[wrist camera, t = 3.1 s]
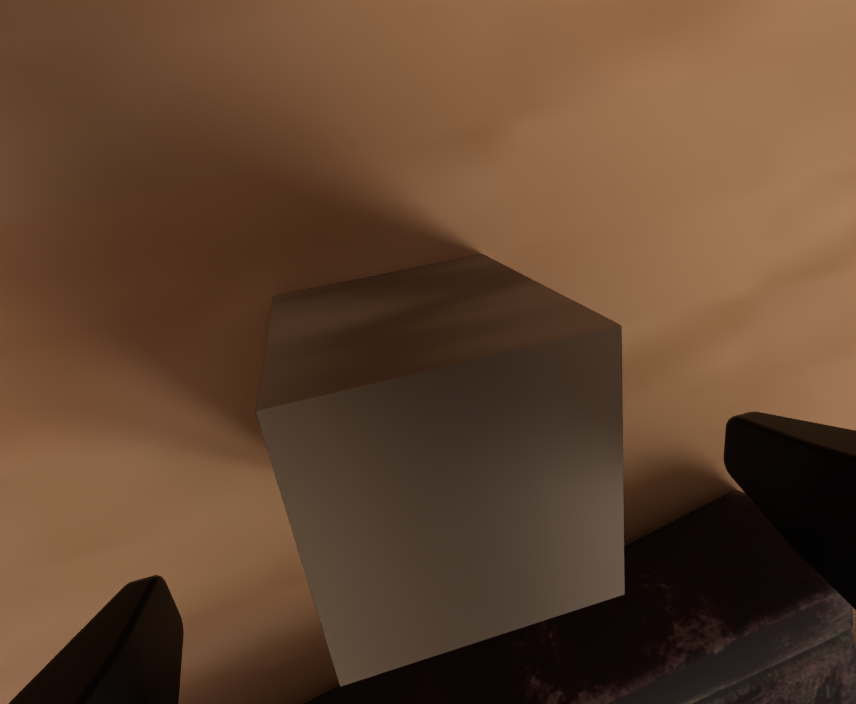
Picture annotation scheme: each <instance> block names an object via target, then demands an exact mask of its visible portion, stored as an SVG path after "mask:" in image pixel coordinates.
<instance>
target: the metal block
mask: <svg viewBox="0 0 856 704" xmlns="http://www.w3.org/2000/svg"><path fill="white" fill-rule="evenodd" d="M256 414H257V418H258V421H259V424H260V427H261V431H262V434H263V437H264V440H265V444H266V447H267V450H268V453H269V457H270V460H271V463H272V466H273V470H274V473H275V476H276V479H277V483H278V486H279V489H280V492H281V496H282V499H283V502H284V505H285V509H286V512H287V515H288V518H289V522H290V525H291V528H292V531H293V535H294V538H295V541H296V544H297V548H298V551H299V554H300V557H301V561H302V564H303V567H304V570H305V574H306V577H307V580H308V583H309V587H310V590H311V593H312V597H313V600H314V603H315V606H316V610H317V613H318V616H319V619H320V623H321V626H322V629H323V632H324V636H325V639H326V642H327V645H328V649H329V652H330V655H331V658H332V662H333V665H334V668H335V671H336V675H337V678H338V681H339V684H340V687H341V686H344V685H347V684H350V683H353V682H356V681H359V680H362V679H366V678H369V677H372V676H375V675H378V674H381V673H384V672H387V671H390V670H393V669H396V668H399V667H402V666H406V665H409V664H412V663H415V662H418V661H421V660H424V659H427V658H430V657H433V656H436V655H439V654H443V653H446V652H449V651H452V650H455V649H458V648H461V647H464V646H467V645H470V644H473V643H476V642H479V641H483V640H486V639H489V638H492V637H495V636H498V635H501V634H504V633H507V632H510V631H513V630H516V629H520V628H523V627H526V626H529V625H532V624H535V623H538V622H541V621H544V620H547V619H550V618H553V617H556V616H560V615H563V614H566V613H569V612H572V611H575V610H578V609H581V608H584V607H587V606H590V605H593V604H596V603H600V602H603V601H606V600H609V599H612V598H615V597H618V596H621V595H624V594H625V581H624V499H623V417H622V334H621V325H620V324H618V323H616V322H614V321H612V320H610V319H608V318H606V317H604V316H602V315H600V314H598V313H596V312H594V311H592V310H590V309H588V308H586V307H585V306H583V305H581V304H579V303H577V302H575V301H573V300H571V299H569V298H567V297H565V296H563V295H561V294H559V293H557V292H555V291H553V290H551V289H550V288H548V287H546V286H544V285H542V284H540V283H538V282H536V281H534V280H532V279H530V278H528V277H526V276H524V275H522V274H520V273H518V272H516V271H515V270H513V269H511V268H509V267H507V266H505V265H503V264H501V263H499V262H497V261H495V260H493V259H491V258H489V257H487V256H485V255H483V254H480V255H476V256H471V257H466V258H461V259H456V260H451V261H446V262H441V263H436V264H431V265H426V266H421V267H416V268H411V269H406V270H401V271H396V272H391V273H386V274H381V275H376V276H371V277H366V278H361V279H357V280H352V281H347V282H342V283H337V284H332V285H327V286H322V287H317V288H312V289H307V290H302V291H297V292H292V293H287V294H282V295H277V296H274V298H273V304H272V310H271V317H270V323H269V329H268V336H267V342H266V348H265V355H264V361H263V367H262V374H261V380H260V386H259V393H258V399H257V405H256Z"/></svg>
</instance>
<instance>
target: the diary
mask: <svg viewBox="0 0 856 704" xmlns="http://www.w3.org/2000/svg"><path fill="white" fill-rule="evenodd" d="M624 581H625V594H624V595H621V596H618V597H615V598H612V599H609V600H606V601H603V602H600V603H596V604H593V605H590V606H587V607H584V608H581V609H578V610H575V611H572V612H569V613H566V614H563V615H560V616H556V617H553V618H550V619H547V620H544V621H541V622H538V623H535V624H532V625H529V626H526V627H523V628H520V629H516V630H513V631H510V632H507V633H504V634H501V635H498V636H495V637H492V638H489V639H486V640H483V641H479V642H476V643H473V644H470V645H467V646H464V647H461V648H458V649H455V650H452V651H449V652H446V653H443V654H439V655H436V656H433V657H430V658H427V659H424V660H421V661H418V662H415V663H412V664H409V665H406V666H402V667H399V668H396V669H393V670H390V671H387V672H384V673H381V674H378V675H375V676H372V677H369V678H366V679H362V680H359V681H356V682H353V683H350V684H347V685H344V686H341V687H340V685H339V686H337V687H335V688H333V689H332V690H330V691H328V692H326V693H324V694H322V695H320V696H318V697H316V698H314V699H312V700H310V701H308V702H306V703H304V704H856V650H855V643H854V636H853V633H852V631H851V628H852V627H853V620H852V606H851V605H850V604H849V603H848V602H847V601H846V600H845V599H844V598H843V597H842V596H841V595H840V594H839V593H838V592H837V591H836V590H835V589H834V588H833V587H832V586H831V585H830V584H829V583H828V582H827V581H826V580H825V579H824V578H823V577H822V576H821V575H820V574H818V573H817V572H816V571H815V570H814V569H813V568H812V567H811V566H810V565H809V564H808V563H807V562H806V561H805V560H804V559H803V558H802V557H801V556H800V555H799V554H798V553H797V552H796V551H795V550H794V548H793V547H792V546H791V545H790V544H789V543H788V542H787V541H786V540H785V538H784V537H783V536H782V535H781V534H780V533H779V532H778V530H777V529H776V528H775V527H774V526H773V525H772V523H771V522H770V521H769V520H768V519H767V518H766V516H765V515H764V514H763V513H762V512H761V511H760V509H759V508H758V507H757V506H756V505H755V504H754V502H753V501H752V500H751V499H750V498H749V497H748V495H747V494H746V493H744V492H741V491H738V490H735V491H733V492H731V493H729V494H727V495H725V496H723V497H721V498H719V499H717V500H715V501H713V502H711V503H709V504H707V505H705V506H703V507H701V508H699V509H697V510H695V511H693V512H691V513H689V514H687V515H685V516H683V517H681V518H679V519H677V520H676V521H674V522H672V523H670V524H668V525H666V526H664V527H662V528H660V529H658V530H656V531H654V532H652V533H650V534H648V535H646V536H644V537H642V538H640V539H638V540H636V541H634V542H632V543H630V544H628V545H626V546H624Z"/></svg>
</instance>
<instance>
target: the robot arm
mask: <svg viewBox="0 0 856 704" xmlns="http://www.w3.org/2000/svg"><path fill="white" fill-rule="evenodd" d="M724 464H725V467H726V469H727V471H728V473H729V474H730V476H731V477H732V478H733V479H734V480H735V481H736V483H737V484H738V485H739V486H740V487H741V488H742V490H743V491H744V492H745V493H746V494H747V495H748V497H749V498H750V499H751V500H752V501H753V502H754V504H755V505H756V506H757V507H758V508H759V509H760V511H761V512H762V513H763V514H764V515H765V516H766V518H767V519H768V520H769V521H770V522H771V523H772V525H773V526H774V527H775V528H776V529H777V530H778V532H779V533H780V534H781V535H782V536H783V537H784V538H785V540H786V541H787V542H788V543H789V544H790V545H791V546H792V547H793V548H794V550H795V551H796V552H797V553H798V554H799V555H800V556H801V557H802V558H803V559H804V560H805V561H806V562H807V563H808V564H809V565H810V566H811V567H812V568H813V569H814V570H815V571H816V572H817V573H818V574H820V575H821V576H822V577H823V578H824V579H825V580H826V581H827V582H828V583H829V584H830V585H831V586H832V587H833V588H834V589H835V590H836V591H837V592H838V593H839V594H840V595H841V596H842V597H843V598H844V599H845V600H846V601H847V602H848V603H849V604H850V605H851V606H852V607H853V608H854V609H855V610H856V431H855V430H849V429H844V428H839V427H834V426H828V425H823V424H818V423H813V422H807V421H802V420H797V419H792V418H786V417H781V416H776V415H771V414H766V413H760V412H748V413H744V414H741V415H737V416H733V417H731V418H730V419H729V420H728V422H727V424H726V433H725V447H724ZM182 647H183V623H182V619H181V616H180V613H179V611H178V609H177V607H176V604H175V602H174V600H173V597H172V595H171V593H170V591H169V588H168V586H167V584H166V582H165V580H164V579H163V578H162V577H161V576H158V575H154V576H151V577H147V578H143V579H140V580H136V581H133V582H130V583H128V584H127V585H125V586H124V587H123V588H122V589H121V590H120V591H119V592H118V593H117V594H116V595H115V596H114V597H113V598H112V599H111V600H110V601H109V602H108V603H107V604H106V605H105V606H104V607H103V608H102V610H101V611H100V612H99V613H98V614H97V615H96V616H95V617H94V618H93V619H92V620H91V621H90V622H89V623H88V624H87V625H86V626H85V627H84V628H83V629H82V630H81V631H80V632H79V633H78V634H77V635H76V636H75V637H74V638H73V639H72V640H71V641H70V642H69V643H68V644H67V645H66V646H65V647H64V648H63V649H62V650H61V651H60V652H59V653H58V654H57V655H56V656H55V657H54V658H53V659H52V660H51V661H50V662H49V663H48V664H47V665H46V666H45V667H44V668H43V669H42V670H41V671H40V672H39V673H38V674H37V675H36V676H35V677H34V678H33V679H32V680H31V681H30V682H29V683H28V684H27V685H26V686H25V687H24V688H23V689H22V690H21V691H20V692H19V693H18V695H17V696H16V697H15V698H14V699H13V700H12V701H11V702H10V703H9V704H178V701H179V688H180V674H181V661H182Z"/></svg>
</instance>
